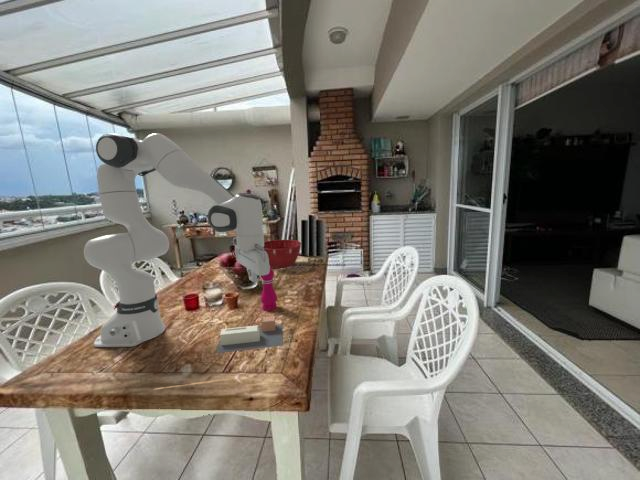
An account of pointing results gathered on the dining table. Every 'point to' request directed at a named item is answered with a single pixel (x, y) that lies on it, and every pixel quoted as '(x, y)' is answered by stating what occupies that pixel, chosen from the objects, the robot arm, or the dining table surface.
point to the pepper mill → (268, 292)
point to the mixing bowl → (282, 252)
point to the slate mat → (256, 345)
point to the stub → (268, 323)
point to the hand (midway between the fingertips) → (253, 280)
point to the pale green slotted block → (240, 335)
